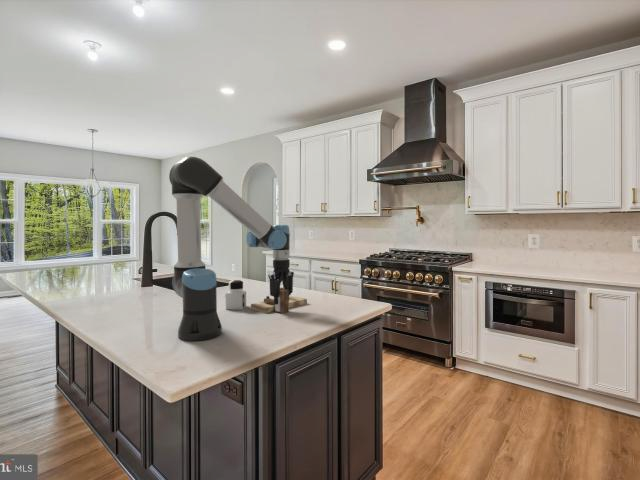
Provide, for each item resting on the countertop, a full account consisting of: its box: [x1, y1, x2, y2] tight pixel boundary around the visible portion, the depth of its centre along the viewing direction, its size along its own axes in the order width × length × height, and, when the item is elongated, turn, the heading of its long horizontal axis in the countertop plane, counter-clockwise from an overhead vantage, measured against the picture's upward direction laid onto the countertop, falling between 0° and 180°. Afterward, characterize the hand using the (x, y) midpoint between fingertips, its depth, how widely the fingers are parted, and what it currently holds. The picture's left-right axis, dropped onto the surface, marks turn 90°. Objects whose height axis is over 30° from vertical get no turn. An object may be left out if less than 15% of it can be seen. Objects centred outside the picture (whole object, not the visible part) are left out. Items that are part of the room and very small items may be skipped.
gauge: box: [263, 287, 290, 314], centre depth 167 cm, size 4×14×11 cm, turn 49°
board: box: [250, 295, 308, 314], centre depth 174 cm, size 26×11×2 cm, turn 137°
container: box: [225, 279, 247, 311], centre depth 171 cm, size 8×8×13 cm
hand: (281, 309), depth 164 cm, fingers closed on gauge, 4 cm apart
